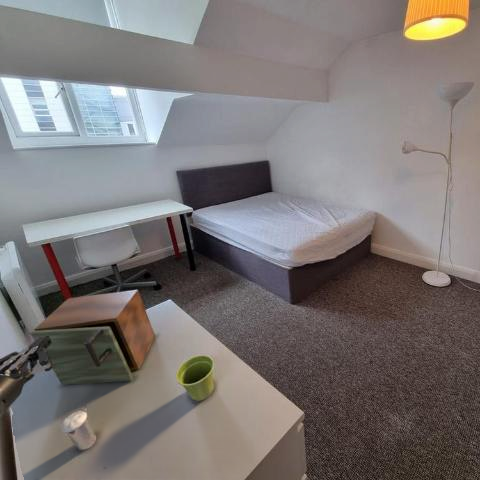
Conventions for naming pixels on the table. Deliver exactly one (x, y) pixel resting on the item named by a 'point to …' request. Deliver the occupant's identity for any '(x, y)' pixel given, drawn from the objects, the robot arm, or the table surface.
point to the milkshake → (79, 430)
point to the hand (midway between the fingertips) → (46, 338)
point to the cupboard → (108, 321)
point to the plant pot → (197, 376)
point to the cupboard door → (85, 355)
